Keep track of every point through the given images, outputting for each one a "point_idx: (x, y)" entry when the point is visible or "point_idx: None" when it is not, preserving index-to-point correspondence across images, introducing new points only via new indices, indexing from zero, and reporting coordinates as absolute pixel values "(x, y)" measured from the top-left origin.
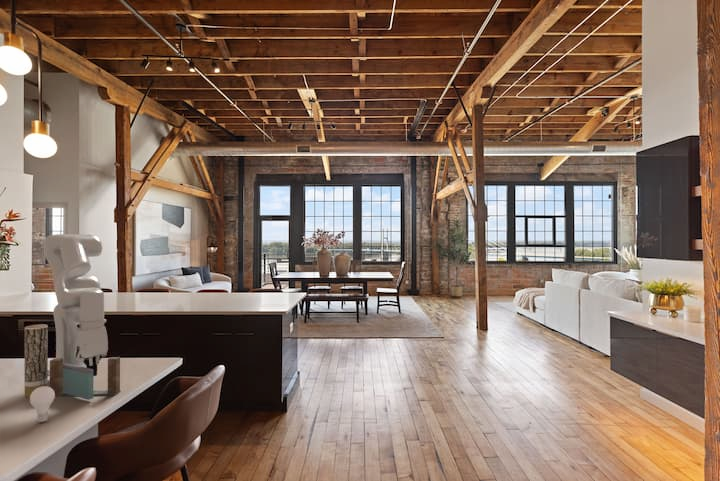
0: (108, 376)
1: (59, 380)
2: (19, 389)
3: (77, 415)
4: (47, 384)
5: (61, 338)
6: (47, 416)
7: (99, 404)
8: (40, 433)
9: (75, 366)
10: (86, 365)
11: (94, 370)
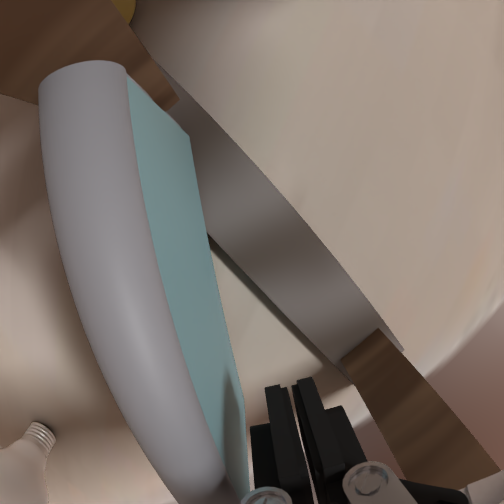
0: (379, 428)
1: None
2: None
3: (141, 466)
4: (113, 3)
5: None
6: (51, 445)
7: None
8: (52, 475)
9: (134, 420)
10: (255, 499)
11: (310, 471)
